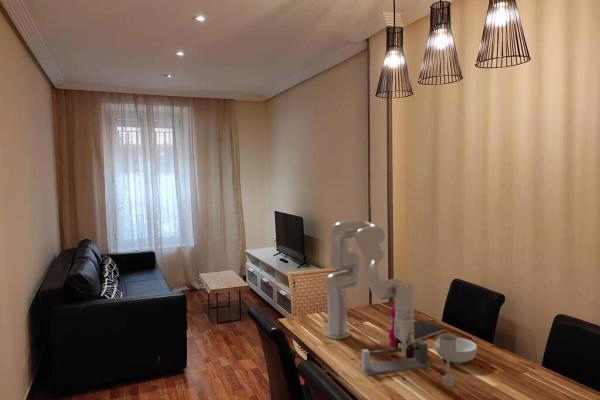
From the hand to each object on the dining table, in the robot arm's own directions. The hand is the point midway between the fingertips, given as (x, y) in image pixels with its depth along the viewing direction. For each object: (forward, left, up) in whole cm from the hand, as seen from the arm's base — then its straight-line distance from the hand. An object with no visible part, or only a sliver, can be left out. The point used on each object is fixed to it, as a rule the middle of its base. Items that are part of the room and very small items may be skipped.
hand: (404, 353), depth 176 cm
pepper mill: (-20, +6, -6) cm, 22 cm away
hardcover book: (-33, +23, -6) cm, 41 cm away
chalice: (+17, +10, -6) cm, 20 cm away
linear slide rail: (0, -4, -5) cm, 7 cm away
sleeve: (0, 0, 0) cm, 0 cm away
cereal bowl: (0, +24, -6) cm, 24 cm away
